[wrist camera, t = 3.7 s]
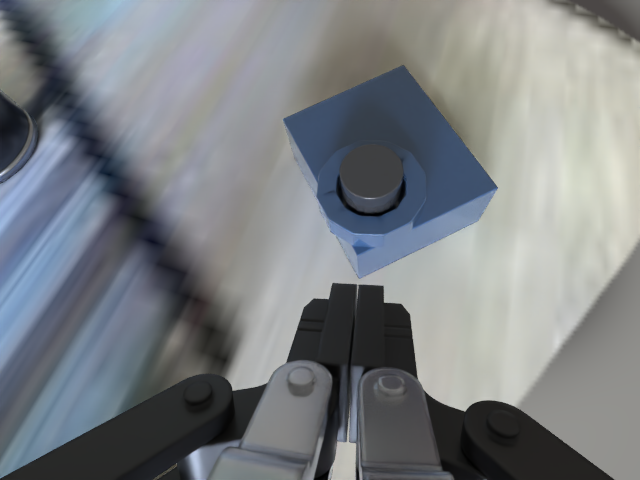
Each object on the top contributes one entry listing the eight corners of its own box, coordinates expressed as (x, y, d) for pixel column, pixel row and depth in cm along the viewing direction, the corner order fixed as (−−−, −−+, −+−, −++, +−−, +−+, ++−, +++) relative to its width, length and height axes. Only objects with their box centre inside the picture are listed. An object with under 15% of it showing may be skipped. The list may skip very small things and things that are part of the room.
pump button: (331, 178, 25) (328, 159, 23) (382, 154, 25) (384, 134, 23) (357, 224, 24) (357, 208, 22) (411, 198, 24) (415, 181, 22)
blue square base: (285, 161, 34) (266, 103, 27) (398, 109, 34) (406, 41, 28) (351, 286, 29) (346, 253, 23) (480, 223, 30) (511, 173, 23)
